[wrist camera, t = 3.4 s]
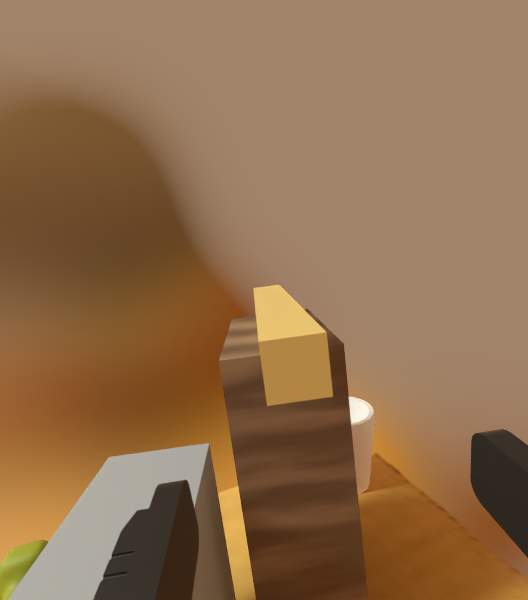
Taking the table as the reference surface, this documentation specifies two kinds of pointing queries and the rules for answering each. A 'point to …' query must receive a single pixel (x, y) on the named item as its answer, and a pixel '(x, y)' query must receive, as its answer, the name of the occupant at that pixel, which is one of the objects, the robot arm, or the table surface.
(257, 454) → the stand
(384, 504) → the table surface
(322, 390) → the rail
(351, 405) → the foam cup
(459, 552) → the table surface
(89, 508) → the block
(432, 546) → the table surface
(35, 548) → the dumbbell
